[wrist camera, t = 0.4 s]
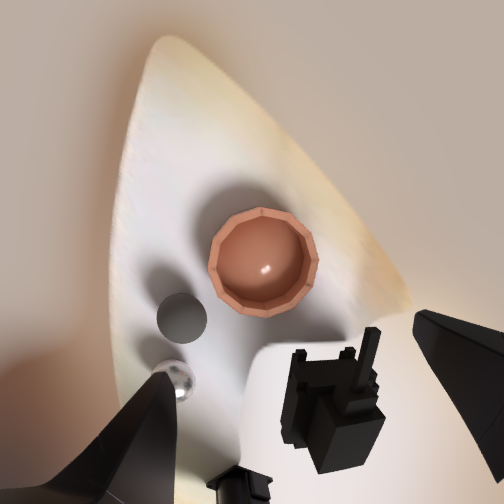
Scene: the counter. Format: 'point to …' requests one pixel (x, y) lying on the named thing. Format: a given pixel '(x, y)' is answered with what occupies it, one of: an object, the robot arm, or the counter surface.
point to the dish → (262, 262)
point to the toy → (334, 406)
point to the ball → (181, 318)
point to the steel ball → (178, 378)
